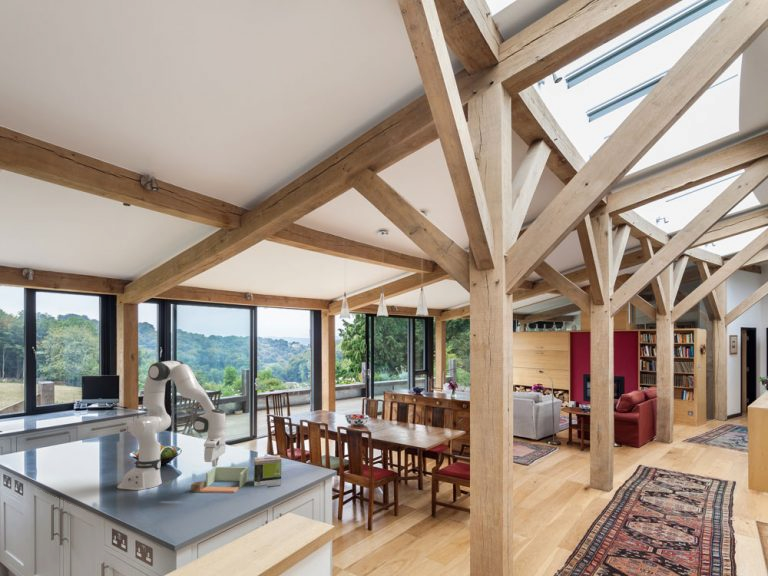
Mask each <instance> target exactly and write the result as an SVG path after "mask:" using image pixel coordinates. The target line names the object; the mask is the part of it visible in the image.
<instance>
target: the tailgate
mask: <svg viewBox="0 0 768 576" xmlns="http://www.w3.org/2000/svg"><path fill="white" fill-rule="evenodd" d="M239 489H240V487H239V486H208V487H206V486H204V488H203V489H202V490H200V492H199V493H212V494H213V493H215V494H217V493H219V494H221V493H224V494H230V493H231V494H232V493H236V492H237V491H238V490H239Z"/></svg>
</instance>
